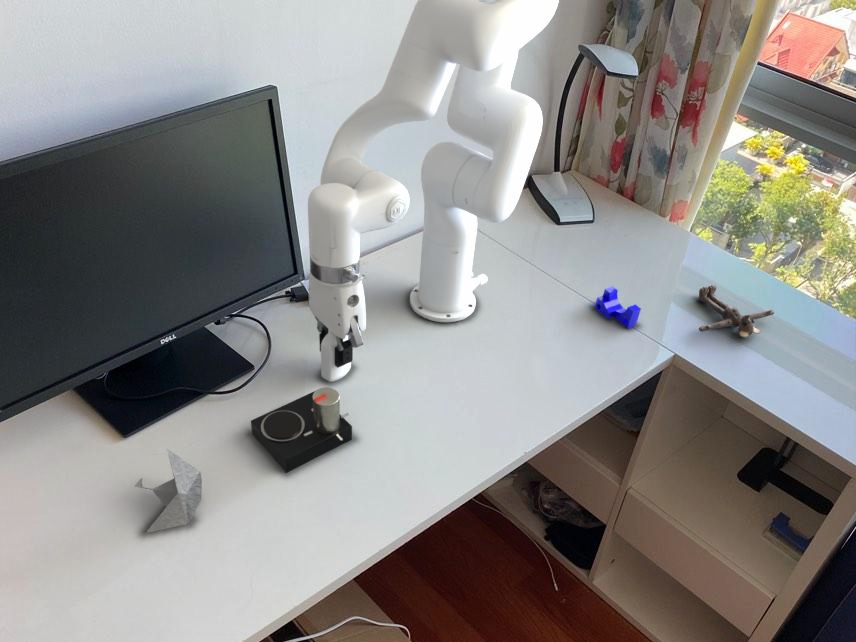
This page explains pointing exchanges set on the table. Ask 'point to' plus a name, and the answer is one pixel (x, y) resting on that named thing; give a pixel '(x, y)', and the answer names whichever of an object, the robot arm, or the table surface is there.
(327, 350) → the eye dropper bottle
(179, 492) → the origami crane
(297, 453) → the hot plate
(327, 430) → the knob
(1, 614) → the table surface
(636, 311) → the cable holder
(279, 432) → the burner
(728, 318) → the brown monkey figure
